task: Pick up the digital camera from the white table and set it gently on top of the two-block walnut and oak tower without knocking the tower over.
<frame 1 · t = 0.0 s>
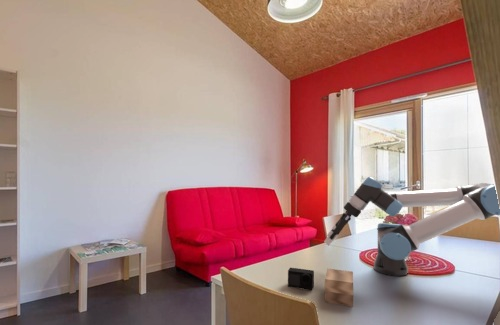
hand: (327, 240, 139), 15 cm above the table, tool tilted 35°, fingers open, 13 cm apart
tower base: (339, 298, 112), on the table, touching tower top
digital camera: (300, 287, 121), on the table
tower top: (339, 286, 112), point 4 cm above the table, touching tower base
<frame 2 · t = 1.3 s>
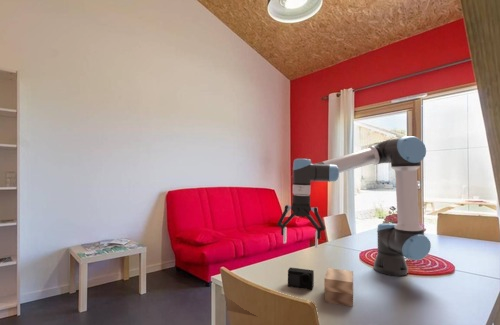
hand: (300, 244, 122), 18 cm above the table, tool pointing down, fingers open, 13 cm apart
nothing on the table moved.
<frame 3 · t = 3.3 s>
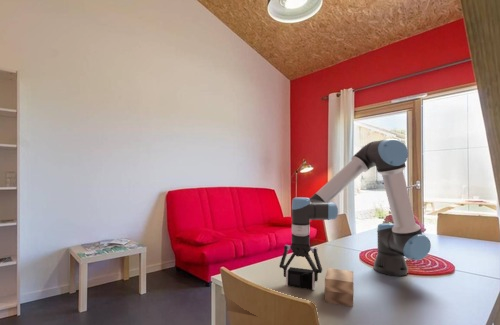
hand: (300, 286, 121), 0 cm above the table, tool pointing down, fingers closed on digital camera, 10 cm apart
digital camera: (300, 287, 121), on the table, touching gripper
everything else where it was.
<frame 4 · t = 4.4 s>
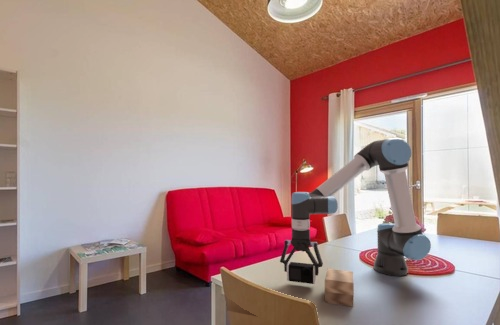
hand: (301, 281, 121), 3 cm above the table, tool pointing down, fingers closed on digital camera, 10 cm apart
tower base: (339, 298, 112), on the table
digital camera: (301, 281, 121), point 2 cm above the table, touching gripper
tower top: (339, 286, 111), point 4 cm above the table
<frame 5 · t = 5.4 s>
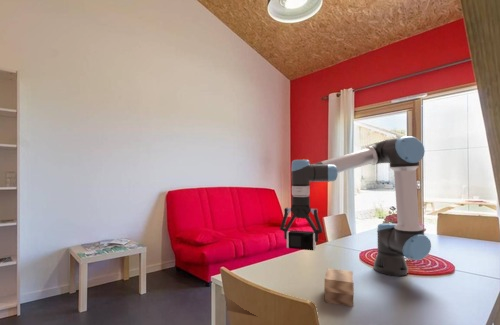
hand: (301, 248, 121), 16 cm above the table, tool pointing down, fingers closed on digital camera, 10 cm apart
tower base: (339, 298, 112), on the table, touching tower top
digital camera: (301, 249, 122), point 16 cm above the table, touching gripper
tower top: (339, 286, 112), point 4 cm above the table, touching tower base
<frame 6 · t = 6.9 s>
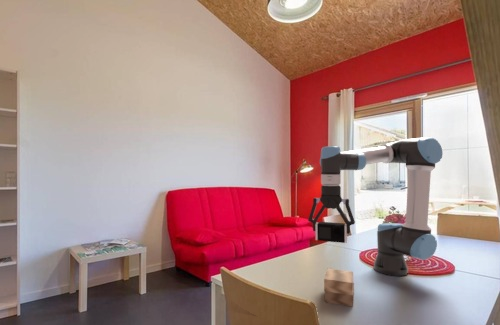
hand: (331, 240, 114), 21 cm above the table, tool pointing down, fingers closed on digital camera, 10 cm apart
digital camera: (331, 241, 115), point 21 cm above the table, touching gripper
everything else where it was.
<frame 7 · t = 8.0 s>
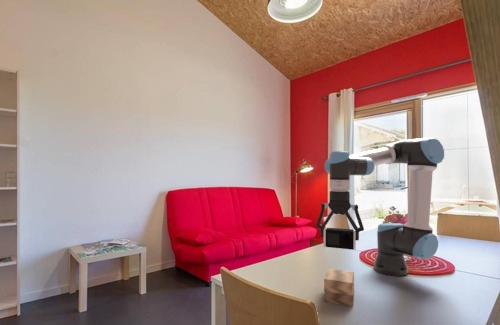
hand: (339, 247, 112), 19 cm above the table, tool pointing down, fingers closed on digital camera, 10 cm apart
digital camera: (339, 248, 112), point 19 cm above the table, touching gripper
everything else where it was.
when the fingers open (11 cm above the table, at t = 10.7 s): digital camera drops 2 cm, resting on tower top.
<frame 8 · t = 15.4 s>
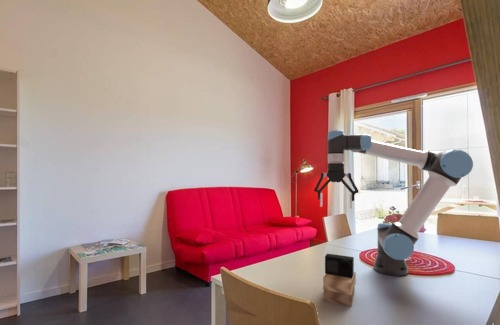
hand: (335, 207, 137), 32 cm above the table, tool pointing down, fingers open, 13 cm apart
digital camera: (338, 275, 113), point 8 cm above the table, touching tower top
tower top: (339, 286, 112), point 4 cm above the table, touching digital camera, tower base
everything else where it was.
at the end: digital camera inside the target area on the tower top (0.4 cm from its centre), point 4.3 cm above the tower top's base; tower top 0.1 cm off-centre on the tower base, point 4.5 cm above the tower base's base; the gripper is holding nothing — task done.
